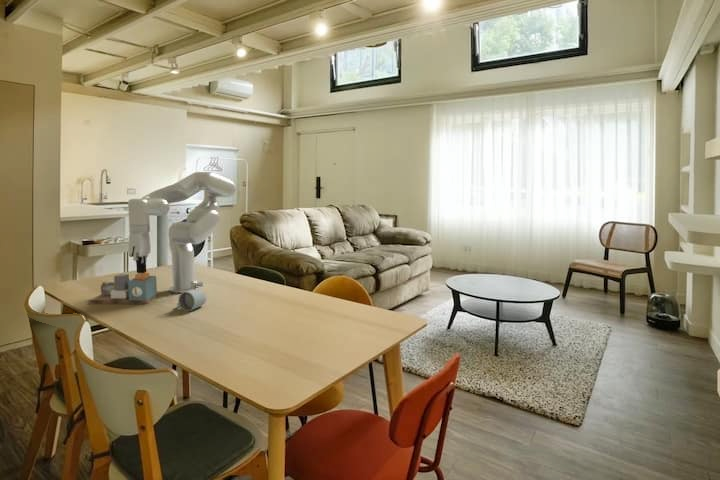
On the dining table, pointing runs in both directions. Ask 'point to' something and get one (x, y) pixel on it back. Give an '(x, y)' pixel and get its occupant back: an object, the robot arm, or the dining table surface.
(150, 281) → the gauge cabinet
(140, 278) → the button
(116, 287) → the grey stepped block
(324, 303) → the dining table surface
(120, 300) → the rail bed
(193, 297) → the ceramic mug
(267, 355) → the dining table surface
